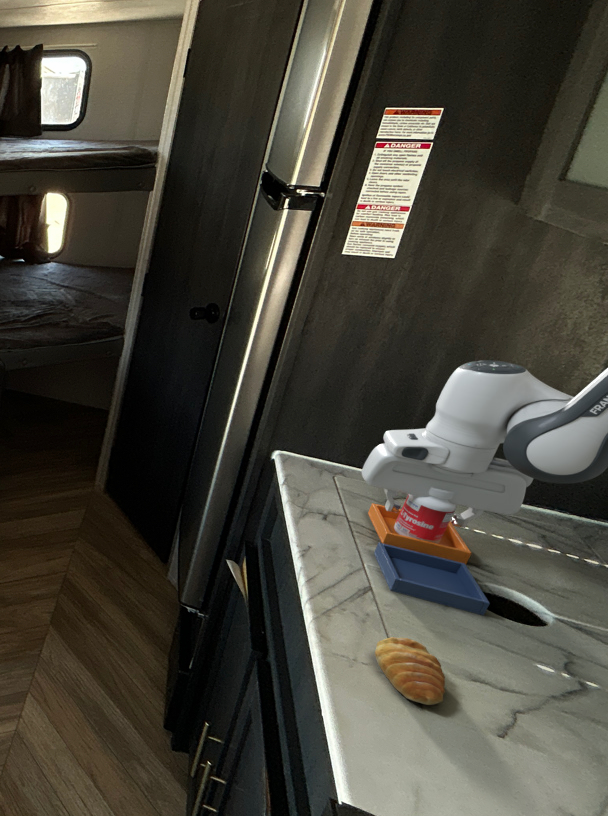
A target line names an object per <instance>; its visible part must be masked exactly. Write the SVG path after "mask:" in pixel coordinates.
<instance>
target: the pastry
mask: <svg viewBox="0 0 608 816" xmlns="http://www.w3.org/2000/svg"><path fill="white" fill-rule="evenodd" d="M374 654H375V659H376V661H377V663H376V664H378V665H377V666H379V668H380V670H381V671H382V672H383V674H384V676H385V678H387V679H388V681H389V683H390V684H391V685H392V687H393V688H394V689H396V691H398V692H399V693H400V694H402V695H403V697H405V698H406V699H408V700H409V701H412V702H416V703H420V704H422V705H426V706H434V705H436V704H440V703H442V702H443V699H444V694H445V693H446V690H445V686H446V676H445V674H444V672H443V669H442V664H441V663H440V661H439V659H438V658H437V656H435V655H433V654H431V653H430V652H429V651H428V649H427V647H426V646H425V645H423V644H422V643H420V642H419V641H416V640H413V639H410V638H408V637H394V636H393V637H387V638H384V639H382V640H379V641H378V642H377V643H376V647H375V651H374Z"/></svg>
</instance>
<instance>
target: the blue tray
mask: <svg viewBox="0 0 608 816" xmlns="http://www.w3.org/2000/svg"><path fill="white" fill-rule="evenodd" d="M373 555H374V557H375V559H376V562H377V564H378V566H379V568H380V571H381V573H382V575H383V577H384V580H385V582H386V584H387V586H388V589H389V590H390V591H391V592H395V593H399V594H401V595H405V596H409V597H413V598H417V599H420V600H424V601H428V602H431V603H436V604H439V605H443V606H446V607H451V608H454V609H457V610H462V611H466V612H469V613H472V614H475V615H481V616H484V615H485V613H486V612H487V610H488V607H489V606H490V604H491V603H490V601H489V600H488V598H487V596H486V595H485V593H484V592H483V590H482V588H481V587H480V585H479V584H478V582H477V581H476V579H475V577H474V576H473V574H472V573H471V572H470V570H469V568H468V566H467V564H465V563H461V562H457V561H453V560H449V559H445V558H441V557H437V556H432V555H428V554H424V553H420V552H416V551H412V550H408V549H404V548H400V547H395V546H391V545H387V544H383V543H382V542H378V543H377V545H376V548H375V549H374V552H373Z"/></svg>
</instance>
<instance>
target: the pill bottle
mask: <svg viewBox="0 0 608 816" xmlns="http://www.w3.org/2000/svg"><path fill="white" fill-rule="evenodd" d="M429 495H431V496H430V497H420V496H415V495H410V494H407V495H406V498H405V501H404V503H403V505H402V506H401V508H400V509H401V512H400V514H399V516H398V518H397V520H396V523H395V525H394V529H395V531H396V532H397V533H398V534H399V535H403V536H407V537H411V538H416V539H420V540H424V541H428V542H432V543H437V544H438V543H439V542H440V540H441V538H442V536H443V534H444V532H445V530H446V528H447V526H448V524H449V522H450V521H451V519H452V518H453V514H454V513H456V512H455V511H456V510H457V507H458V505H457V504H453V503H450V502H449V501H448V499H452V497H453V495H454V492H451V491H446V490H441V489H437V488H432V487H431V488H430V490H429Z"/></svg>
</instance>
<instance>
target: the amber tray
mask: <svg viewBox="0 0 608 816" xmlns="http://www.w3.org/2000/svg"><path fill="white" fill-rule="evenodd" d="M401 509H402V508H400V509H398V513H395V512H390V511H387V510H386V508H385V505H382V504H378V503H372V502H371V505H370V507H369V509H368V512H367V515H368V517H369V519H370V522H371V523H372V525H373V528H374V530H375V532H376V534H377V536H378V538H379V540H380V543H383V544H387V545H391V546H395V547H400V548H404V549H408V550H412V551H416V552H420V553H424V554H428V555H432V556H437V557H441V558H445V559H449V560H453V561H457V562H461V563H465V565H467V563H468V561H469V560H470V557H471V556H472V551H471V550H470V548H469V547H468V545H467V544H466V542H465V541H464V540H463V538H462V536H461V535H460V533H459V531H457V529H456V528H455V527H456V526H453V524H452V523H451V520H450V522H449V524H448V526H447V528H446V530H445V532H444V534H443V536H442V538H441V540H440V542H439V543H438V544H437V543H432V542H428V541H424V540H420V539H416V538H411V537H407V536H403V535H399V534H398V533H397V532H396V531H395V529H394V525H395V523H396V520H397V518H398V516H399V514H400V512H401Z"/></svg>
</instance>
